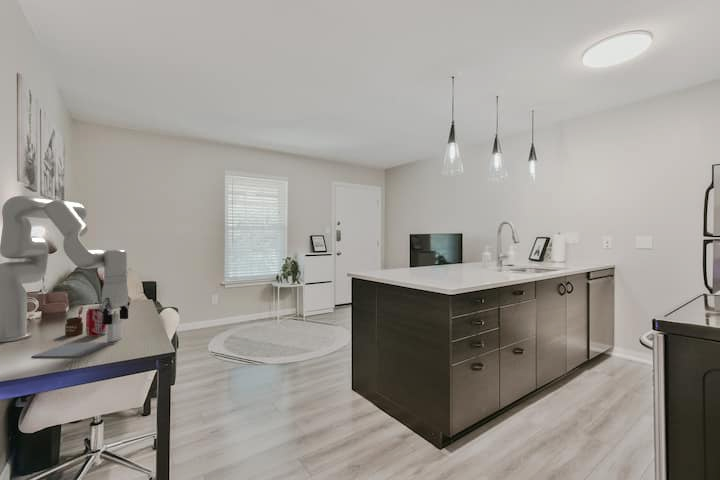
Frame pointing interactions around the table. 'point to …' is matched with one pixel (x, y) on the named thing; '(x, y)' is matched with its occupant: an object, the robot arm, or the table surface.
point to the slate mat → (72, 350)
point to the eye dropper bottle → (114, 329)
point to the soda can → (95, 322)
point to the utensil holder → (74, 325)
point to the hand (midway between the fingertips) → (116, 321)
